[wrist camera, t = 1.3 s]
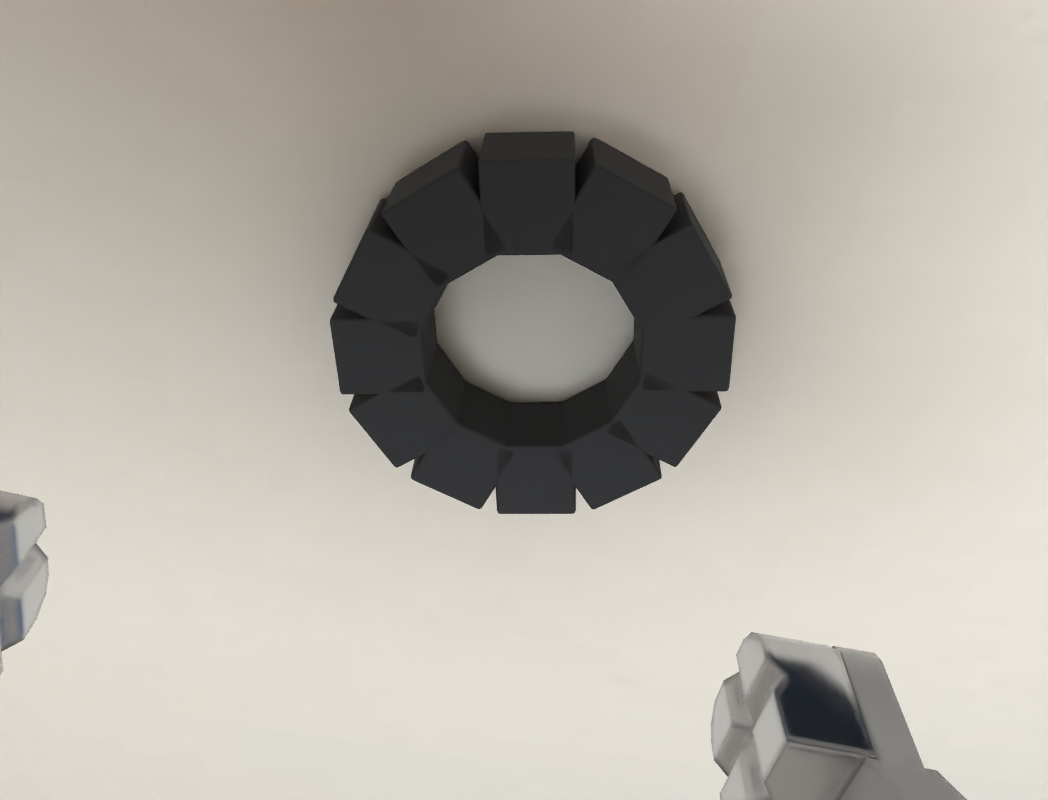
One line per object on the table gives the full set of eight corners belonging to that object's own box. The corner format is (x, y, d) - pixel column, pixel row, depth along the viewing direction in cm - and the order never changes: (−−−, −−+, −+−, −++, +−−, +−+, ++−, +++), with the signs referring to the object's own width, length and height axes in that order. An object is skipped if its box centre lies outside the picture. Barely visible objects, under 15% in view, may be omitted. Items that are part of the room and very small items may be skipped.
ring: (274, 256, 24) (250, 293, 22) (606, 52, 21) (610, 73, 19) (480, 516, 28) (474, 565, 26) (780, 373, 25) (798, 416, 23)
